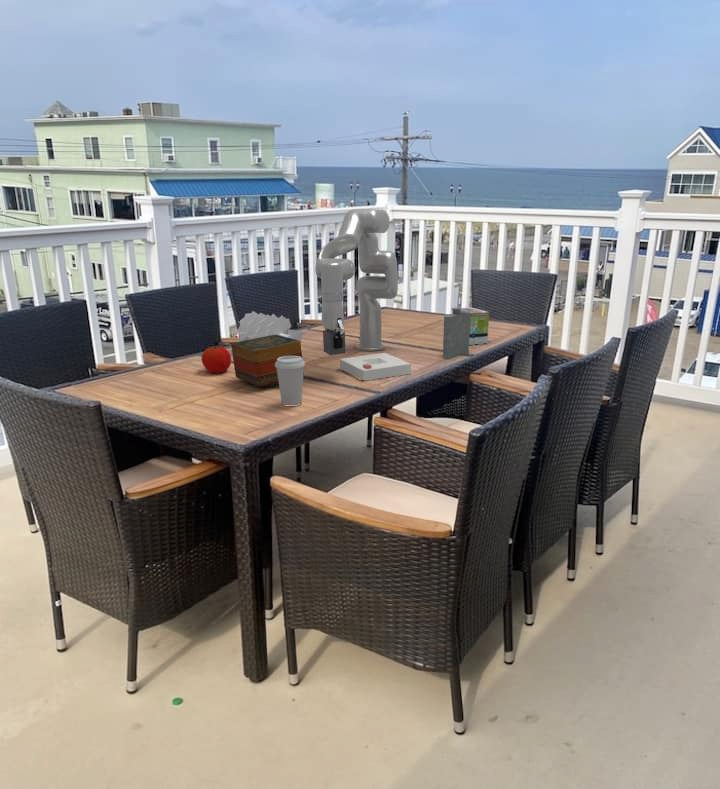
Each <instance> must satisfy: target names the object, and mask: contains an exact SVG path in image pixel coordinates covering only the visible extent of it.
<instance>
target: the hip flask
mask: <svg viewBox="0 0 720 789" xmlns="http://www.w3.org/2000/svg"><path fill="white" fill-rule="evenodd" d="M461 308H462V307H452V308H451V313H449V314H447V315H444V317H443V338H442V339H443V343H442V344H443V345H442V359H443V358H444V359H443V360H450V358H451V359H453V358H455V356H456V357H458V356H457V355H459V356H462V355H466V354H465V353H467V354H469V348H470V345H469V330H470V312H468V311H464V312H462V311H461V312H460V310H461ZM461 354H462V355H461ZM452 357H453V358H452Z"/></svg>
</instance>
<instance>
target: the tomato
mask: <svg viewBox="0 0 720 789" xmlns="http://www.w3.org/2000/svg"><path fill="white" fill-rule="evenodd" d="M201 362H202V365H203V367H204V369H206V370H207V371H208V372H211V373H213V372H214V374H215V373H216V374H220V372H221V373H223V371H224V372H226V371H227V370H228V369H229V368H230V366H231V364H232V357H231V354H230V352H229V350H228V349H226V348H225V347H224V346H223V345H222V346H221V345H219V346H218V345H213V346H211V345H209V347H208V348H206V349H205V350H204V352H202V355H201Z"/></svg>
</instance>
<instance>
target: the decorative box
mask: <svg viewBox="0 0 720 789" xmlns="http://www.w3.org/2000/svg"><path fill="white" fill-rule="evenodd" d="M230 345H231V352H232V353H231V354H232V361H233V367H234V374H235V377H236V378H238V379H240V380H241V381H244V382H246V383H248V384H250V385H253V384H254V386H256V387H258V388H266V387H270V386H273V385H277V384H279V381H278V374H277V368H276V367H275V363H276V362H277V359H278V358H279V357H283V356H299V357H302V359H303V353H302V352H303V351H302V341H301V342H300V341H299V340H295V339H291V338H287V337H284V336H280V335H270V336H265V337H260V338H255V339H251V340H245V341H241V342H239V341H237V342H236V341H235V342H232V343H231V344H230ZM304 376H305V368H304V369H303V377H304Z"/></svg>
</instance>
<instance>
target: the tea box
mask: <svg viewBox="0 0 720 789" xmlns="http://www.w3.org/2000/svg"><path fill="white" fill-rule="evenodd" d="M460 308H461V310H460V312H461V311H462V312H464V311H468V312H470V330H469V346H476V345H475V344H478V345H485V344H484V343H486V344H488V340H489V339H488V338H489V324H490V323H489V322H490V321H489V319H490V312H489V311H488V310H483V309H479V308H475V307H470V306H469V307H460Z"/></svg>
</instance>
